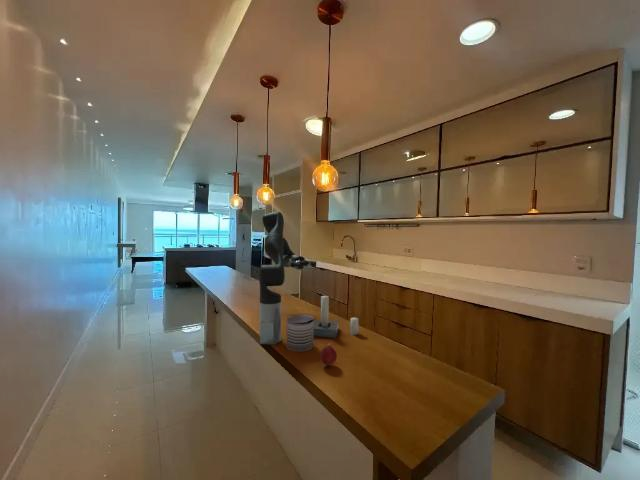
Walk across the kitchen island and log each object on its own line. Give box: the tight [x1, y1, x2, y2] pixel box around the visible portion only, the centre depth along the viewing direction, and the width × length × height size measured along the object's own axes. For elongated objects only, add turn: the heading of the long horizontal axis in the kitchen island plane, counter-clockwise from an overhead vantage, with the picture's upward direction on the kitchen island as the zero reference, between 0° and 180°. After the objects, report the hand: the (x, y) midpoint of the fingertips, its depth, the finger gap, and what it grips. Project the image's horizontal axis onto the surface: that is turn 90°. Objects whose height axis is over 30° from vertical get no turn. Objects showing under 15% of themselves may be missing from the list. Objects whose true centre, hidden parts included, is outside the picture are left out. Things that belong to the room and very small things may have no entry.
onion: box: [320, 343, 338, 367], centre depth 99 cm, size 6×6×8 cm
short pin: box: [350, 317, 359, 336], centre depth 130 cm, size 4×4×7 cm
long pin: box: [320, 295, 330, 327], centre depth 131 cm, size 4×4×17 cm
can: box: [286, 314, 314, 352], centre depth 116 cm, size 11×11×12 cm
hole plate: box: [313, 319, 339, 339], centre depth 132 cm, size 12×12×4 cm
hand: (307, 265), depth 145 cm, fingers open, 8 cm apart
